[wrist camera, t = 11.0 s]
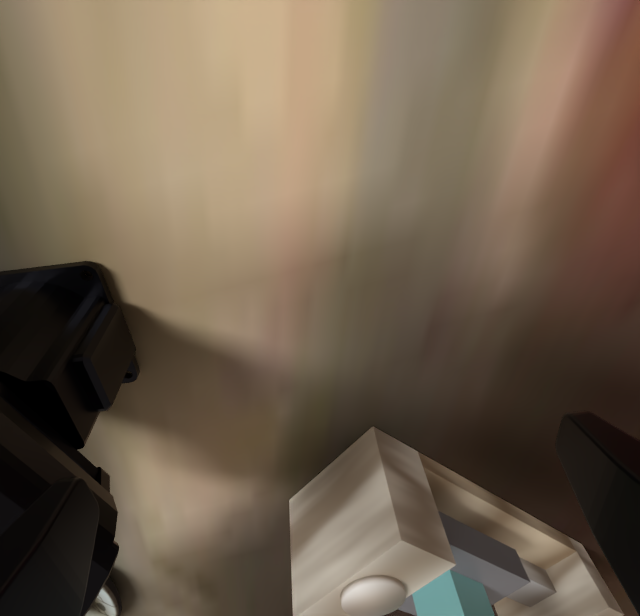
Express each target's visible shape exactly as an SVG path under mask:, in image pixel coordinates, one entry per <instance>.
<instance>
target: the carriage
mask: <svg viewBox="0 0 640 616" xmlns="http://www.w3.org/2000/svg"><path fill="white" fill-rule="evenodd" d="M438 513H439V516H440V518H441V521H442V524H443V527H444V530H445V533H446V536H447V539H448V542H449V545H450V548H451V551H452V554H453V557H454V560H455V562H456V565H455V566H454V567H452V568H451V569H449V570H448V571H446V572H445V573H443V574H442V575H440V576H439V577H437V578H436V579H434V580H433V581H431V582H429V583H428V584H426V585H425V586H423V587H422V588H420V589H419V590H417V591H416V592H414V593H413V594H411V595H410V596H408V597H407V598H406V599H405V602H404V603H403V604H402V606H401V607H399V608H398V610H401V611H404V612H407V613H410V614H412V615H415V616H495V615H494V612H493V610H492V607H491V605H493V604H495V603H496V602H498V601H500V600H501V599H503V598H505V597H506V596H508V595H510V594H511V593H513V592H515V591H516V590H518V589H520V588H521V587H523V586H525V585H527V584H528V583H530V580H529V578H528V575H527V573H526V571H525V569H524V567H523V565H522V562H521V560H520V558H519V556H518V554H517V552H516V550H515V549H513V548H511V547H509V546H507V545H505V544H503V543H501V542H499V541H497V540H495V539H493V538H491V537H489V536H487V535H485V534H483V533H481V532H479V531H477V530H475V529H473V528H471V527H469V526H467V525H465V524H463V523H461V522H459V521H457V520H455V519H454V518H452V517H450V516H448V515H446V514H444V513H442V512H440V511H438Z"/></svg>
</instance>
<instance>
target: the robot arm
mask: <svg viewBox="0 0 640 616" xmlns="http://www.w3.org/2000/svg"><path fill="white" fill-rule="evenodd" d="M84 270H86V271H89V272H91V274H92V275H93V277H89V276H87V275H85V273H84ZM135 351H136V347H135V345H134V342H133V340H132V337H131V334H130V332H129V329H128V327H127V324H126V321H125V319H124V316H123V314H122V311H121V308H120V307H119V306H118V305H117V304H115V303H114V302H113V299H112V297H111V294H110V292H109V289H108V286H107V284H106V281H105V279H104V276H103V274H102V271H101V269H100V268H99V266H98V265H96V264H95V263H93V262H90V261H83V262H75V263H67V264H59V265H51V266H43V267H34V268H26V269H18V270H10V271H2V272H0V616H85V615H86V613H87V612H88V611H89V609H90V608H91V606H92V605H93V603H94V601H95V599H96V598H97V596H98V594H99V593H100V591H101V589H102V587H103V586H104V584H105V582H106V581H107V579H108V577H109V575H110V573H111V570H112V568H113V565H114V563H115V560H116V558H117V555H118V551H119V545H118V543H116V542H115V541H114V537H115V530H116V522H117V513H118V512H117V508H116V505H115V502H114V499H113V496H112V495H111V494H110V476H109V475H108V474H107V473H106V472H105V471H104V470H103V469H102V468H101V467H97V468H96V467H95V466H94V465H93V464H92V463H91V462H90V461H89V460H87V459H86V458H85V457H84V456H83V455H82V454H81V453H80V452H79V451H77V449H81V448H83V447H84V446H85V444H86V441H87V439H88V437H89V435H90V433H91V430H92V428H93V426H94V424H95V422H96V419H97V417H98V415H99V413H100V412H101V411H108V410H109V408H110V407H111V406H112V404H113V402H114V400H115V397H116V395H117V393H118V390H119V388H120V386H121V383H129V382H133V381H135V380H136V379H137V377H138V374H139V372H140V369H139V366H138V363H137V361H136V358H135V356H134V353H135ZM127 371H130V372H131V373H127ZM556 451H557V455H558V457H559V460H560V462H561V464H562V466H563V469H564V471H565V473H566V475H567V478H568V480H569V482H570V484H571V487H572V489H573V491H574V493H575V496H576V498H577V500H578V502H579V505H580V507H581V509H582V511H583V514H584V516H585V518H586V520H587V522H588V525H589V527H590V529H591V531H592V533H593V535H594V537H595V538H596V540H597V542H598V544H599V546H600V548H601V549H602V551H603V553H604V555H605V556H606V558H607V560H608V562H609V563H610V565H611V567H612V569H613V570H614V572H615V574H616V576H617V578H618V579H619V581H620V583H621V585H622V586H623V588H624V590H625V592H626V593H627V595H628V597H629V599H630V600H631V602H632V604H633V606H634V607H635V609H636V611H637V613H638V614H639V616H640V441H639V440H637V439H635V438H634V437H632V436H630V435H629V434H627V433H625V432H624V431H622V430H620V429H618V428H617V427H615V426H613V425H612V424H610V423H608V422H607V421H605V420H603V419H601V418H600V417H598V416H596V415H595V414H593V413H591V412H589V411H576V412H568V413H565V414H564V415H563V417H562V420H561V424H560V427H559V431H558V435H557V439H556Z"/></svg>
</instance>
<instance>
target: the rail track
mask: <svg viewBox="0 0 640 616" xmlns="http://www.w3.org/2000/svg"><path fill="white" fill-rule="evenodd" d="M289 511H290V541H291V572H292V603H293V616H383V615H386V614H389V613H391V612H393V611H395V610H397V609H398V608H399V607H401V606H402V604H403V603H404V602H405V599H406V598H407V597H408V596H410V595H411V594H413V593H414V592H416V591H417V590H419V589H420V588H422V587H423V586H425V585H426V584H428V583H429V582H431V581H433V580H434V579H436V578H437V577H439V576H440V575H442V574H443V573H445V572H446V571H448V570H449V569H451V568H452V567H454V566H455V565H456V562H455V560H454V557H453V554H452V551H451V548H450V545H449V542H448V539H447V536H446V533H445V530H444V527H443V524H442V521H441V518H440V516H439V513H438V511H440V512H442V513H444V514H446V515H448V516H450V517H452V518H454V519H455V520H457V521H459V522H461V523H463V524H465V525H467V526H469V527H471V528H473V529H475V530H477V531H479V532H481V533H483V534H485V535H487V536H489V537H491V538H493V539H495V540H497V541H499V542H501V543H503V544H505V545H507V546H509V547H511V548H513V549H515V550H516V552H517V554H518V556H519V558H520V560H521V562H522V565H523V567H524V569H525V571H526V573H527V575H528V578H529V580H530V583H528V584H527V585H525V586H523V587H521V588H520V589H518V590H516V591H515V592H513V593H511V594H510V595H508V596H506V597H505V598H503V599H501V600H500V601H498V602H496V603H495V604H494V607H495V609H496V612H497V614H498V616H623V615H624V613H623V612H622V610H621V608H620V607H619V605H618V603H617V602H616V600H615V598H614V597H613V595H612V593H611V592H610V590H609V588H608V587H607V585H606V583H605V582H604V580H603V578H602V577H601V575H600V573H599V572H598V570H597V568H596V567H595V565H594V563H593V562H592V560H591V558H590V557H589V555H588V553H587V552H586V550H585V548H584V547H583V545H582V544H581V543H579V542H577V541H575V540H574V539H572V538H570V537H568V536H567V535H565V534H563V533H561V532H560V531H558V530H556V529H554V528H552V527H551V526H549V525H547V524H545V523H544V522H542V521H540V520H538V519H536V518H535V517H533V516H531V515H529V514H528V513H526V512H524V511H522V510H521V509H519V508H517V507H515V506H513V505H512V504H510V503H508V502H506V501H505V500H503V499H501V498H499V497H498V496H496V495H494V494H492V493H490V492H489V491H487V490H485V489H483V488H482V487H480V486H478V485H476V484H475V483H473V482H471V481H469V480H467V479H466V478H464V477H462V476H460V475H459V474H457V473H455V472H453V471H452V470H450V469H448V468H446V467H444V466H443V465H441V464H439V463H437V462H436V461H434V460H432V459H430V458H428V457H427V456H425V455H423V454H421V453H420V452H418V451H416V450H414V449H413V448H411V447H409V446H407V445H405V444H404V443H402V442H400V441H398V440H397V439H395V438H393V437H391V436H390V435H388V434H386V433H384V432H382V431H381V430H379V429H377V428H375V427H374V426H372V427H371V428H370V429H369V430H368V431H367V432H366V433H365V434H363V435H362V436H361V437H360V438H359V439H358V440H357V441H355V442H354V443H353V444H352V445H351V446H350V447H349V448H348V449H346V450H345V451H344V452H343V453H342V454H341V455H340V456H338V457H337V458H336V459H335V460H334V461H333V462H332V463H331V464H329V465H328V466H327V467H326V468H325V469H324V470H323V471H321V472H320V473H319V474H318V475H317V476H316V477H315V478H314V479H312V480H311V481H310V482H309V483H308V484H307V485H306V486H304V487H303V488H302V489H301V490H300V491H299V492H298V493H297V494H295V495H294V496H293V497H292V498H291V499H290V500H289Z"/></svg>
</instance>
